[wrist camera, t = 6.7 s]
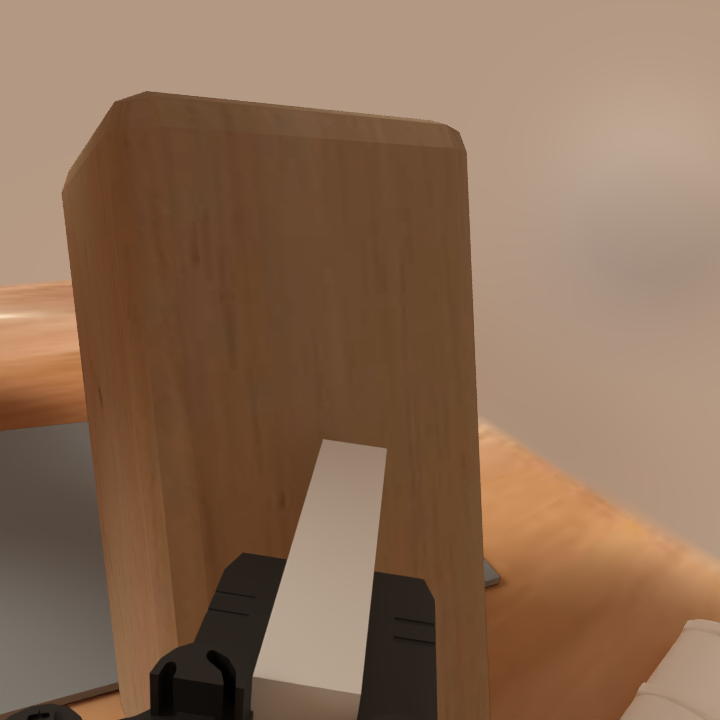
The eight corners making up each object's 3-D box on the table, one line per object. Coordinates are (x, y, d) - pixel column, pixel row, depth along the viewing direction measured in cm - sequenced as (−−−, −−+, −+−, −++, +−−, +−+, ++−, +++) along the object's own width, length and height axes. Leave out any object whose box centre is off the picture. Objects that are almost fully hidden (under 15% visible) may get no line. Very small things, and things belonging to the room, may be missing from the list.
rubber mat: (-12, 437, 39) (-12, 432, 39) (339, 399, 49) (340, 395, 49) (-51, 736, 22) (-53, 728, 22) (498, 583, 32) (500, 577, 32)
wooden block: (118, 714, 23) (54, 167, 21) (348, 626, 29) (316, 177, 26) (199, 944, 15) (107, 71, 13) (505, 760, 20) (479, 114, 18)
